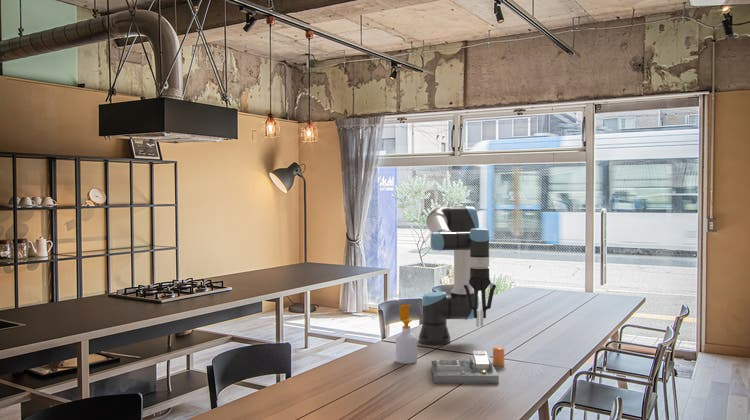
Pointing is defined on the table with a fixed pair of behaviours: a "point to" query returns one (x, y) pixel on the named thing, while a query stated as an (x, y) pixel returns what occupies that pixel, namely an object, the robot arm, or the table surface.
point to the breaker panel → (463, 372)
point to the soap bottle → (406, 340)
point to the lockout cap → (498, 356)
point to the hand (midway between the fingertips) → (479, 326)
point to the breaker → (481, 359)
